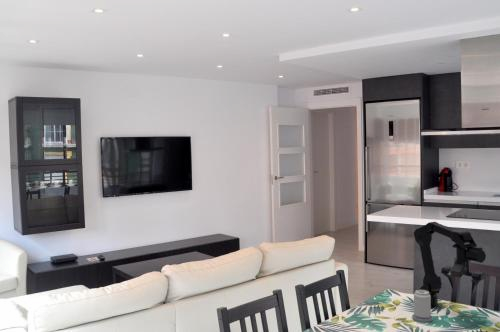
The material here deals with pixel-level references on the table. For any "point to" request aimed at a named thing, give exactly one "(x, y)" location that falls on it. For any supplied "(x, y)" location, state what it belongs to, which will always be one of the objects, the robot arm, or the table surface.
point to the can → (422, 304)
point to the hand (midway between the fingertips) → (462, 291)
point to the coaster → (422, 319)
